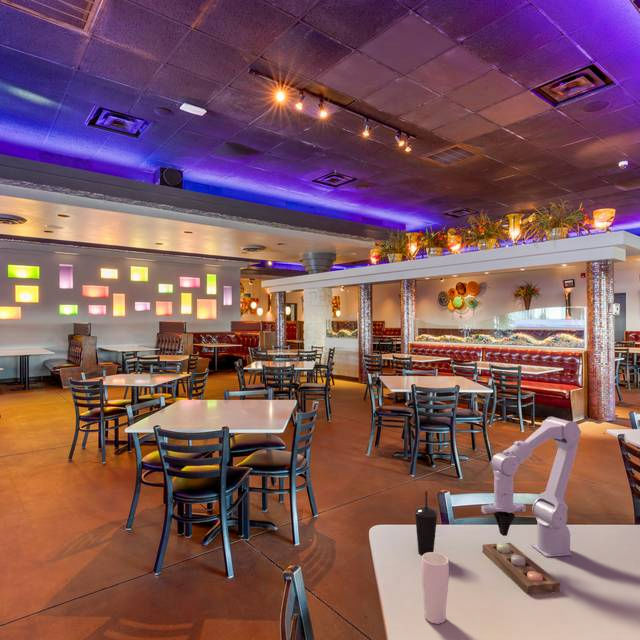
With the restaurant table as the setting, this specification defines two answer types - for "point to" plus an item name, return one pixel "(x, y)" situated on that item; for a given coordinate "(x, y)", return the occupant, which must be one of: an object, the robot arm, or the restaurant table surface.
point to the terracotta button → (534, 576)
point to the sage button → (503, 548)
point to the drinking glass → (435, 586)
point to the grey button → (518, 560)
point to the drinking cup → (425, 527)
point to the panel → (521, 570)
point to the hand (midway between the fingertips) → (503, 534)
